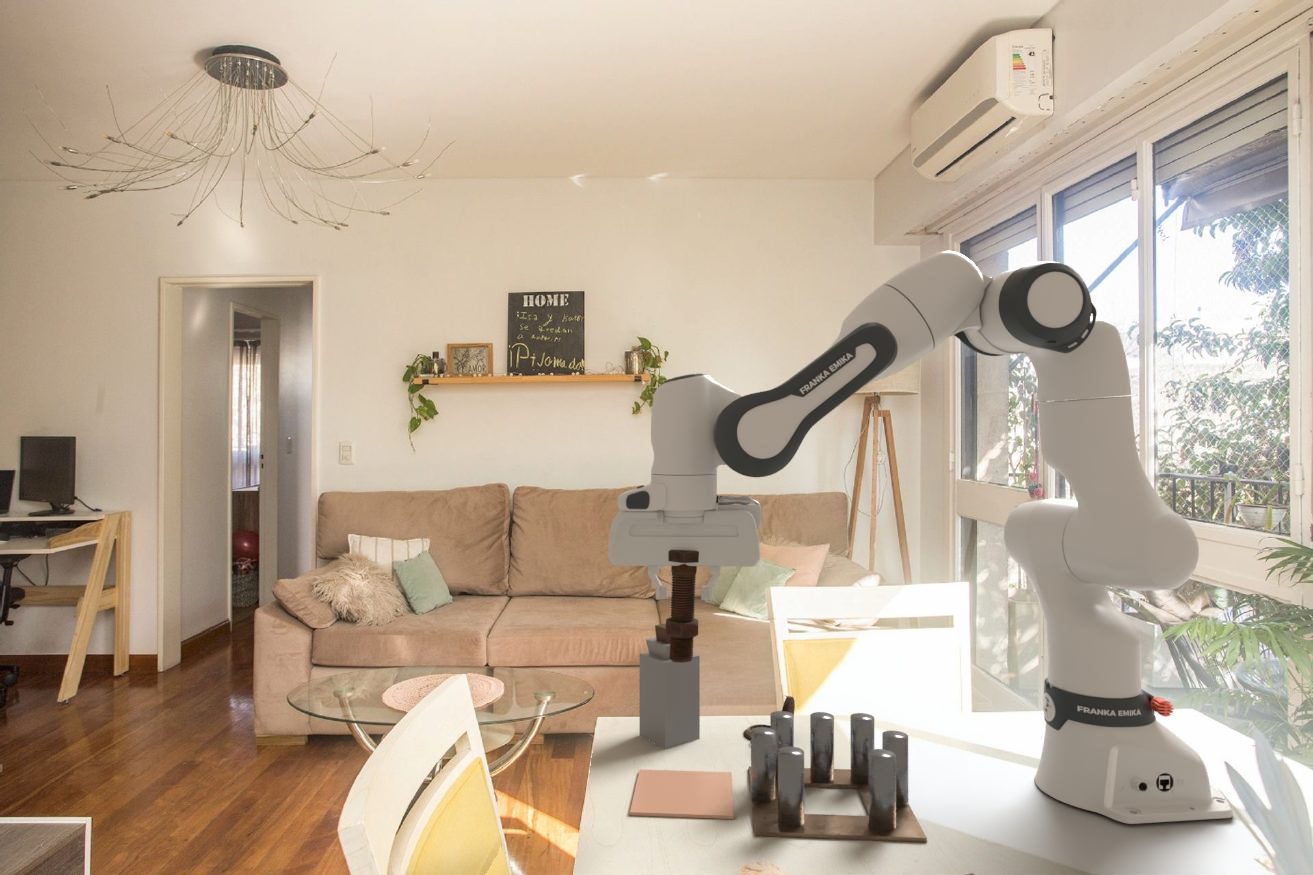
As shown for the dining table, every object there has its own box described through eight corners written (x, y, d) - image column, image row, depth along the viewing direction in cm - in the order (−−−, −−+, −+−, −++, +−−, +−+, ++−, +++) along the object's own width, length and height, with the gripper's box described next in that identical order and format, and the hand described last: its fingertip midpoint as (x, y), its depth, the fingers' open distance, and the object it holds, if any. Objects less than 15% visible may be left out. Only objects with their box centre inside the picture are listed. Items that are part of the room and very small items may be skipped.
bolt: (700, 667, 102) (703, 552, 102) (661, 665, 102) (664, 550, 103) (699, 655, 108) (703, 546, 108) (663, 653, 108) (666, 544, 108)
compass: (748, 729, 129) (748, 685, 129) (796, 736, 126) (796, 691, 126) (734, 747, 122) (734, 699, 122) (784, 754, 119) (784, 706, 119)
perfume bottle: (639, 738, 125) (639, 624, 125) (673, 729, 129) (673, 619, 129) (665, 751, 120) (665, 632, 120) (699, 741, 124) (699, 626, 124)
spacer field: (891, 774, 111) (891, 710, 112) (927, 841, 93) (927, 765, 93) (747, 769, 113) (747, 706, 113) (754, 835, 94) (754, 759, 94)
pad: (731, 774, 111) (731, 772, 111) (733, 818, 98) (733, 815, 98) (639, 772, 112) (639, 769, 112) (629, 815, 99) (629, 811, 99)
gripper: (760, 494, 108) (761, 595, 108) (612, 493, 109) (612, 593, 109) (763, 497, 101) (764, 605, 101) (606, 497, 103) (606, 603, 103)
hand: (684, 599), depth 105 cm, fingers closed on bolt, 5 cm apart
